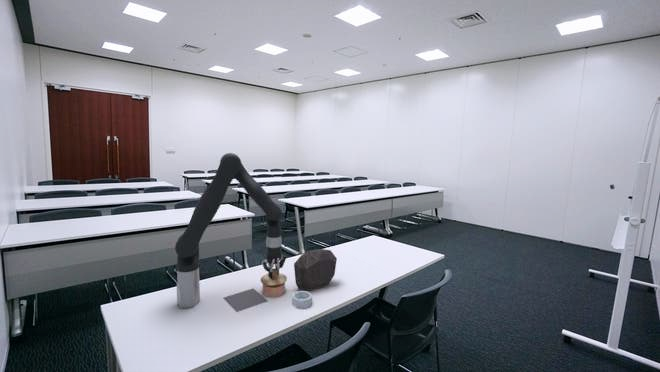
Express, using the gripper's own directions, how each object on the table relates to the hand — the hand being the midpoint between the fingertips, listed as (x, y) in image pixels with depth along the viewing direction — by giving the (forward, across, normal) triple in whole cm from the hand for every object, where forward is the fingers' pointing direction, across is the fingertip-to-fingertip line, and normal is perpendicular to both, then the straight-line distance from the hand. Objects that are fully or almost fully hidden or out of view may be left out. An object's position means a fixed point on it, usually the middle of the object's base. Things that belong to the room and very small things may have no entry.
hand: (273, 277), depth 157 cm
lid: (+2, 0, 0) cm, 2 cm away
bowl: (+8, 0, 0) cm, 8 cm away
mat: (+8, -15, +1) cm, 17 cm away
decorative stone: (+8, +21, -8) cm, 24 cm away
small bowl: (+8, +5, -18) cm, 20 cm away
